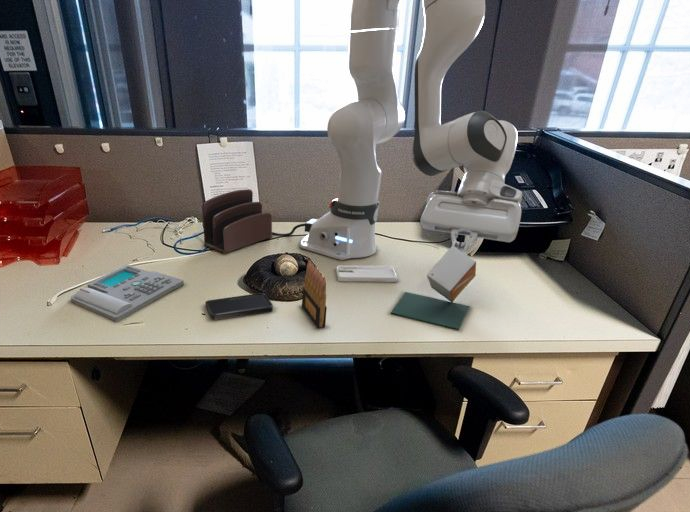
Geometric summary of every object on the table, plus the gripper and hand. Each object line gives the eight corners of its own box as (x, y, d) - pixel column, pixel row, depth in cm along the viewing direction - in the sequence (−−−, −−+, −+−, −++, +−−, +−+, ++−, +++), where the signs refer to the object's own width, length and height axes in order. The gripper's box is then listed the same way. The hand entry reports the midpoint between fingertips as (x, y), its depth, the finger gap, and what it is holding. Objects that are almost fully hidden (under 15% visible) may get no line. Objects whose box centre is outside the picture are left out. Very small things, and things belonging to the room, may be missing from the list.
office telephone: (115, 313, 106) (59, 290, 116) (117, 323, 108) (62, 300, 117) (183, 275, 121) (128, 258, 131) (184, 284, 123) (130, 267, 132)
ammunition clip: (325, 327, 104) (330, 277, 97) (317, 328, 104) (321, 278, 97) (308, 305, 113) (312, 258, 106) (301, 306, 112) (304, 258, 105)
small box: (452, 303, 113) (449, 292, 101) (430, 287, 115) (425, 275, 103) (476, 275, 110) (477, 261, 99) (454, 260, 113) (451, 244, 101)
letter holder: (203, 245, 145) (200, 198, 136) (251, 229, 155) (250, 185, 147) (224, 254, 139) (222, 206, 130) (272, 237, 149) (273, 191, 141)
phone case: (338, 281, 123) (396, 282, 122) (339, 276, 122) (397, 277, 121) (335, 269, 129) (391, 270, 128) (336, 265, 128) (392, 265, 127)
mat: (390, 314, 109) (390, 312, 109) (405, 293, 117) (405, 291, 117) (458, 330, 102) (458, 329, 102) (468, 307, 111) (469, 306, 110)
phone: (274, 307, 110) (211, 316, 107) (273, 311, 111) (211, 320, 108) (264, 292, 116) (204, 300, 113) (264, 296, 117) (204, 304, 114)
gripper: (430, 181, 107) (410, 236, 106) (530, 192, 98) (509, 253, 97) (431, 196, 113) (411, 249, 112) (525, 208, 104) (506, 266, 103)
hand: (458, 251), depth 104 cm, fingers closed
